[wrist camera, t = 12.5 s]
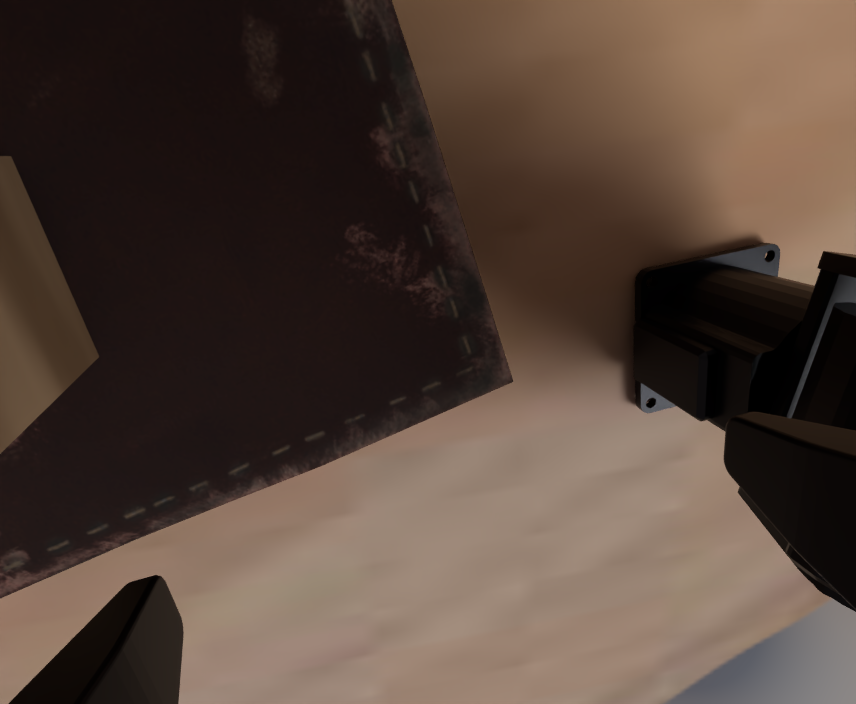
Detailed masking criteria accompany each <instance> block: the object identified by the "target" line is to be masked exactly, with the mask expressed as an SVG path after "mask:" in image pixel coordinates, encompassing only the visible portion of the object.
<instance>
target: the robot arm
mask: <svg viewBox="0 0 856 704" xmlns="http://www.w3.org/2000/svg"><path fill="white" fill-rule="evenodd" d="M766 253H767V256H766V258H765V254H766ZM779 259H780V249H779V247H778V246H777V245H775V244H770V243H760V244H756V245H751V246H746V247H742V248H737V249H733V250H728V251H723V252H719V253H714V254H709V255H705V256H700V257H696V258H691V259H686V260H682V261H677V262H672V263H668V264H663V265H659V266H654V267H649V268H645V269H643V270H641V271H640V272H639V273H638V275H637V277H636V281H635V324H634V378H635V395H636V406H637V407H638V408H639V409H641V410H642V411H643V412H646V413H652V412H656V411H660V410H663V409H667V408H671V407H675V406H677V407H679V408H680V409H682V410H683V411H685V412H686V413H688V414H690V415H691V416H693V417H694V418H696V419H697V420H699V421H705V420H708V421H709V422H711V423H712V424H714V425H716V426H717V427H719V428H720V429H722V430H724V431H725V432H726V433H725V447H724V464H725V467H726V469H727V471H728V473H729V474H730V476H731V477H732V478H733V479H734V480H735V481H736V483H737V484H738V485H739V486H740V487H739V490H738V493H739V495H740V496H741V497H742V499H743V500H744V501H745V502H746V504H747V505H748V506H749V507H750V509H751V510H752V511H753V512H754V514H755V515H756V516H757V518H758V519H759V520H760V521H761V523H762V524H763V525H764V526H765V528H766V529H767V530H768V532H769V533H770V534H771V535H772V537H773V538H774V539H775V540H776V542H777V543H778V544H779V545H780V547H781V548H782V549H783V551H784V552H785V553H786V554H787V556H788V557H789V558H790V559H791V561H792V562H793V563H794V564H795V566H796V567H797V568H798V569H799V571H800V572H801V573H802V574H803V575H804V576H805V577H806V578H807V579H808V580H809V581H810V582H811V583H813V584H814V586H815V587H816V588H817V589H818V590H819V591H820V592H822V593H823V594H825V595H827V596H829V597H831V598H833V599H835V600H836V601H838V602H839V603H841V604H842V605H844V606H846V607H848V608H850V609H852V610H854V611H855V612H856V255H853V254H844V253H835V252H827V251H823V254H822V256H821V259H820V262H819V265H818V268H819V269H821V270H820V273H819V275H818V278H817V281H816V284H815V286H813V285H809V284H805V283H801V282H796V281H792V280H788V279H784V278H780V277H778V269H779ZM649 277H652V280H651V283H650V284H649V285H648V286H647V284H646V283H647V280H648V278H649ZM649 398H651V399H650V401H649V402H648V403H647V404H646V401H647V400H648V399H649ZM182 647H183V623H182V619H181V616H180V613H179V611H178V609H177V607H176V604H175V602H174V600H173V597H172V595H171V593H170V591H169V588H168V586H167V584H166V582H165V580H164V579H163V578H162V577H161V576H158V575H154V576H151V577H147V578H143V579H140V580H136V581H133V582H130V583H128V584H127V585H125V586H124V587H123V588H122V589H121V590H120V591H119V592H118V593H117V594H116V595H115V596H114V597H113V598H112V599H111V600H110V601H109V602H108V603H107V604H106V605H105V606H104V607H103V608H102V610H101V611H100V612H99V613H98V614H97V615H96V616H95V617H94V618H93V619H92V620H91V621H90V622H89V623H88V624H87V625H86V626H85V627H84V628H83V629H82V630H81V631H80V632H79V633H78V634H77V635H76V636H75V637H74V638H73V639H72V640H71V641H70V642H69V643H68V644H67V645H66V646H65V647H64V648H63V649H62V650H61V651H60V652H59V653H58V654H57V655H56V656H55V657H54V658H53V659H52V660H51V661H50V662H49V663H48V664H47V665H46V666H45V667H44V668H43V669H42V670H41V671H40V672H39V673H38V674H37V675H36V676H35V677H34V678H33V679H32V680H31V681H30V682H29V683H28V684H27V685H26V686H25V687H24V688H23V689H22V690H21V691H20V692H19V693H18V695H17V696H16V697H15V698H14V699H13V700H12V701H11V702H10V703H9V704H178V701H179V688H180V674H181V661H182Z"/></svg>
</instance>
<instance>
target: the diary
mask: <svg viewBox="0 0 856 704" xmlns="http://www.w3.org/2000/svg"><path fill="white" fill-rule="evenodd" d="M0 156H11V157H12V159H13V162H14V164H15V166H16V169H17V171H18V173H19V175H20V178H21V180H22V182H23V184H24V187H25V189H26V191H27V194H28V196H29V198H30V200H31V203H32V205H33V207H34V210H35V212H36V214H37V216H38V219H39V221H40V223H41V225H42V228H43V230H44V232H45V235H46V237H47V239H48V241H49V244H50V246H51V248H52V250H53V253H54V255H55V257H56V260H57V262H58V264H59V266H60V269H61V271H62V273H63V275H64V278H65V280H66V282H67V285H68V287H69V289H70V291H71V294H72V296H73V298H74V300H75V303H76V305H77V307H78V310H79V312H80V314H81V316H82V319H83V321H84V323H85V325H86V328H87V330H88V332H89V335H90V337H91V339H92V341H93V344H94V346H95V348H96V350H97V353H98V355H99V358H98V359H97V360H95V361H94V362H93V363H92V364H91V365H90V366H89V367H88V368H87V369H86V370H85V371H84V372H83V373H82V374H81V375H80V376H79V377H78V378H77V379H76V380H75V381H74V382H73V383H72V384H71V385H70V386H69V387H68V388H67V389H66V390H65V391H64V392H63V393H62V394H61V395H60V396H59V397H58V398H57V399H56V400H55V401H54V402H53V403H52V404H51V405H50V406H49V407H48V408H47V409H45V410H44V411H43V412H42V413H41V414H40V415H39V416H38V417H37V418H36V419H35V420H34V421H33V422H32V423H31V424H30V425H29V426H28V427H27V428H26V429H25V430H24V431H23V432H22V433H21V434H20V435H19V436H18V437H17V438H16V439H15V440H14V441H13V442H12V443H11V444H10V445H9V446H8V447H7V448H6V449H5V450H4V451H3V452H2V453H1V454H0V598H2V597H5V596H7V595H9V594H11V593H14V592H16V591H18V590H21V589H23V588H25V587H28V586H30V585H32V584H34V583H37V582H39V581H41V580H44V579H46V578H48V577H51V576H53V575H55V574H57V573H60V572H62V571H64V570H67V569H69V568H71V567H73V566H76V565H78V564H80V563H83V562H85V561H87V560H90V559H92V558H94V557H96V556H99V555H101V554H103V553H106V552H108V551H110V550H113V549H115V548H117V547H119V546H122V545H124V544H126V543H129V542H131V541H133V540H136V539H138V538H141V537H143V536H146V535H148V534H151V533H153V532H156V531H158V530H161V529H163V528H166V527H168V526H171V525H173V524H176V523H178V522H181V521H183V520H186V519H188V518H191V517H193V516H196V515H198V514H201V513H203V512H205V511H208V510H210V509H213V508H215V507H218V506H220V505H223V504H225V503H228V502H230V501H233V500H235V499H238V498H241V497H243V496H246V495H248V494H251V493H253V492H256V491H259V490H261V489H264V488H266V487H269V486H271V485H274V484H276V483H279V482H282V481H284V480H287V479H289V478H292V477H294V476H297V475H300V474H302V473H305V472H307V471H310V470H312V469H315V468H317V467H320V466H322V465H325V464H327V463H329V462H331V461H334V460H336V459H338V458H340V457H343V456H345V455H347V454H350V453H352V452H354V451H356V450H359V449H361V448H363V447H365V446H368V445H370V444H372V443H375V442H377V441H379V440H381V439H384V438H386V437H388V436H391V435H393V434H395V433H397V432H400V431H402V430H404V429H406V428H409V427H411V426H413V425H416V424H418V423H420V422H422V421H425V420H427V419H429V418H431V417H434V416H436V415H438V414H441V413H443V412H445V411H447V410H450V409H452V408H454V407H457V406H459V405H461V404H463V403H466V402H468V401H470V400H472V399H475V398H477V397H479V396H482V395H484V394H486V393H488V392H491V391H493V390H495V389H498V388H500V387H502V386H504V385H507V384H509V383H511V382H513V379H512V376H511V373H510V369H509V366H508V363H507V360H506V357H505V354H504V350H503V347H502V344H501V341H500V338H499V335H498V331H497V328H496V325H495V322H494V319H493V315H492V312H491V309H490V306H489V303H488V299H487V296H486V293H485V290H484V287H483V283H482V280H481V277H480V274H479V271H478V268H477V264H476V261H475V258H474V255H473V252H472V248H471V245H470V242H469V239H468V236H467V233H466V229H465V226H464V223H463V220H462V217H461V214H460V211H459V207H458V204H457V201H456V198H455V195H454V192H453V188H452V185H451V182H450V179H449V176H448V173H447V170H446V166H445V163H444V160H443V157H442V154H441V151H440V148H439V144H438V141H437V138H436V135H435V132H434V129H433V125H432V122H431V119H430V116H429V113H428V110H427V107H426V103H425V100H424V97H423V94H422V91H421V88H420V85H419V82H418V79H417V76H416V73H415V70H414V67H413V64H412V61H411V58H410V55H409V52H408V49H407V46H406V43H405V40H404V37H403V34H402V31H401V28H400V25H399V21H398V18H397V15H396V12H395V9H394V6H393V3H392V0H0Z"/></svg>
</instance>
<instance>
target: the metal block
mask: <svg viewBox="0 0 856 704" xmlns="http://www.w3.org/2000/svg"><path fill="white" fill-rule="evenodd" d="M98 358H99V355H98V353H97V350H96V348H95V346H94V344H93V341H92V339H91V337H90V335H89V332H88V330H87V328H86V325H85V323H84V321H83V319H82V316H81V314H80V312H79V310H78V307H77V305H76V303H75V300H74V298H73V296H72V294H71V291H70V289H69V287H68V285H67V282H66V280H65V278H64V275H63V273H62V271H61V269H60V266H59V264H58V262H57V260H56V257H55V255H54V253H53V250H52V248H51V246H50V244H49V241H48V239H47V237H46V235H45V232H44V230H43V228H42V225H41V223H40V221H39V219H38V216H37V214H36V212H35V210H34V207H33V205H32V203H31V200H30V198H29V196H28V194H27V191H26V189H25V187H24V184H23V182H22V180H21V178H20V175H19V173H18V171H17V169H16V166H15V164H14V162H13V159H12V157H11V156H0V454H1V453H2V452H3V451H4V450H5V449H6V448H7V447H8V446H9V445H10V444H11V443H12V442H13V441H14V440H15V439H16V438H17V437H18V436H19V435H20V434H21V433H22V432H23V431H24V430H25V429H26V428H27V427H28V426H29V425H30V424H31V423H32V422H33V421H34V420H35V419H36V418H37V417H38V416H39V415H40V414H41V413H42V412H43V411H44V410H45V409H47V408H48V407H49V406H50V405H51V404H52V403H53V402H54V401H55V400H56V399H57V398H58V397H59V396H60V395H61V394H62V393H63V392H64V391H65V390H66V389H67V388H68V387H69V386H70V385H71V384H72V383H73V382H74V381H75V380H76V379H77V378H78V377H79V376H80V375H81V374H82V373H83V372H84V371H85V370H86V369H87V368H88V367H89V366H90V365H91V364H92V363H93V362H94V361H95V360H97V359H98Z"/></svg>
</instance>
